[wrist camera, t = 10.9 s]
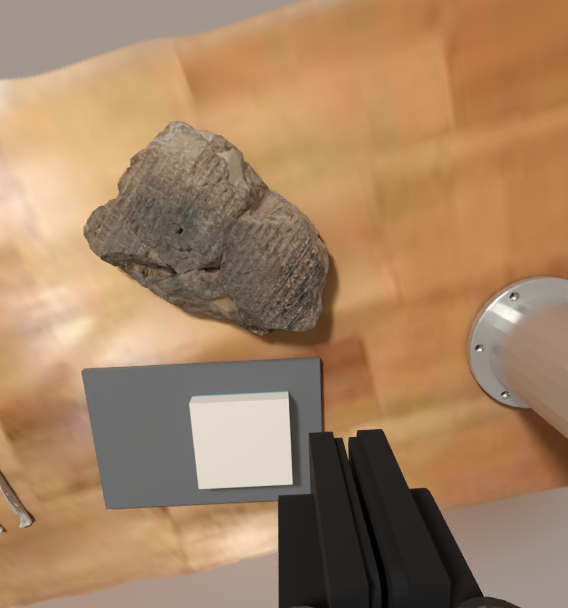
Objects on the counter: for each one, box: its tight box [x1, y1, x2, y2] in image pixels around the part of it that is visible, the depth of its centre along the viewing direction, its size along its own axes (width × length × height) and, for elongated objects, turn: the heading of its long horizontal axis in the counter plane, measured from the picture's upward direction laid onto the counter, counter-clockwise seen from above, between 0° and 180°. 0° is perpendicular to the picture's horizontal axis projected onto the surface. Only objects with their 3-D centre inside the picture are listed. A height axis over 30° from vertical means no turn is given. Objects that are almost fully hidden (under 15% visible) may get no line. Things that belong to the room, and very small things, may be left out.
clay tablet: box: [83, 121, 329, 336], centre depth 35 cm, size 14×5×20 cm
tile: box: [189, 391, 293, 489], centre depth 41 cm, size 2×9×9 cm
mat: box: [81, 357, 322, 509], centre depth 42 cm, size 22×15×1 cm
